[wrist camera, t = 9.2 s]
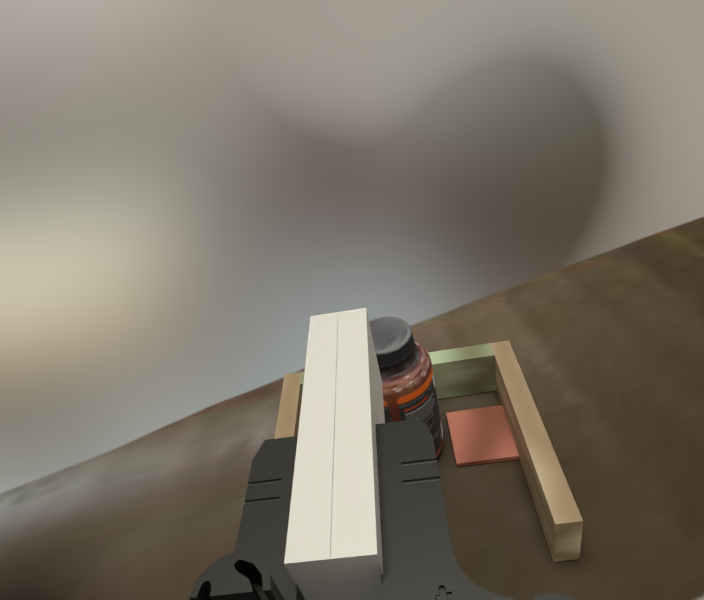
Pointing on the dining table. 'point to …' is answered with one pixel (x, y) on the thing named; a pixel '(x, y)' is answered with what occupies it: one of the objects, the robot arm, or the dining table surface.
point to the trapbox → (488, 432)
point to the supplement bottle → (406, 376)
